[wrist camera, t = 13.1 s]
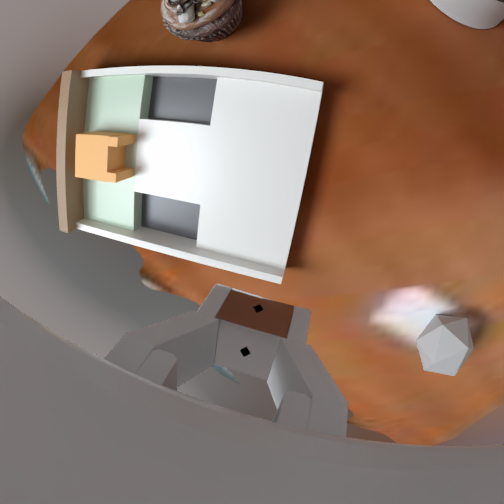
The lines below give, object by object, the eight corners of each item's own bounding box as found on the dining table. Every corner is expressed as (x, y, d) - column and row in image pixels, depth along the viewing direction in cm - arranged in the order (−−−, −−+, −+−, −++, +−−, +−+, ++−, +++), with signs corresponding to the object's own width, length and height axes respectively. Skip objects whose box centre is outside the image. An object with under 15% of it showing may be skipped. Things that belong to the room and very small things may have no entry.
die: (400, 330, 42) (416, 391, 37) (431, 305, 35) (452, 375, 30) (439, 321, 44) (456, 376, 38) (470, 296, 36) (491, 358, 31)
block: (94, 131, 37) (76, 134, 34) (135, 133, 36) (117, 136, 33) (93, 171, 40) (75, 176, 36) (132, 177, 39) (115, 183, 35)
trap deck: (91, 73, 36) (62, 71, 30) (323, 87, 31) (323, 79, 26) (85, 217, 47) (59, 230, 41) (285, 267, 42) (278, 292, 36)
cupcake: (215, -24, 27) (184, -56, 18) (266, 12, 29) (246, -20, 20) (166, 23, 31) (124, 4, 22) (212, 62, 33) (176, 46, 24)
